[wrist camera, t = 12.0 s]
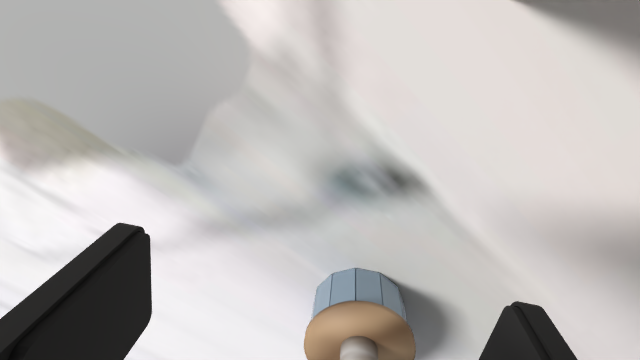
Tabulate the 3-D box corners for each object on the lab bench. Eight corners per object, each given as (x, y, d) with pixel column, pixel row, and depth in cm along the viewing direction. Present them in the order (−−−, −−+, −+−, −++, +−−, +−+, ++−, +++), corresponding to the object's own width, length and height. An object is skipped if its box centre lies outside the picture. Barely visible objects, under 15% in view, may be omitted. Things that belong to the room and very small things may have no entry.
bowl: (421, 304, 44) (430, 344, 39) (360, 350, 48) (361, 392, 43) (354, 253, 42) (354, 286, 37) (297, 305, 46) (289, 343, 40)
